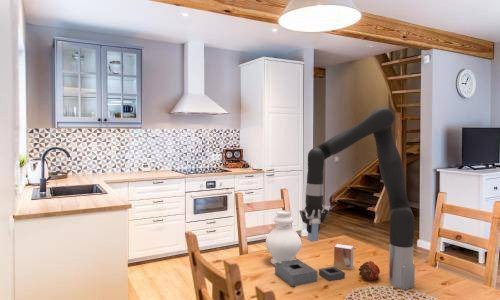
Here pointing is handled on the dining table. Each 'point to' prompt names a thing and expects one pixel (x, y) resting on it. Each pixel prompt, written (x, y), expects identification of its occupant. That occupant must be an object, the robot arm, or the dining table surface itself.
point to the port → (295, 272)
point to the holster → (331, 273)
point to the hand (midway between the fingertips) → (313, 232)
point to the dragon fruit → (369, 271)
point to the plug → (314, 230)
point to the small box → (343, 256)
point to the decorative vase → (283, 239)
